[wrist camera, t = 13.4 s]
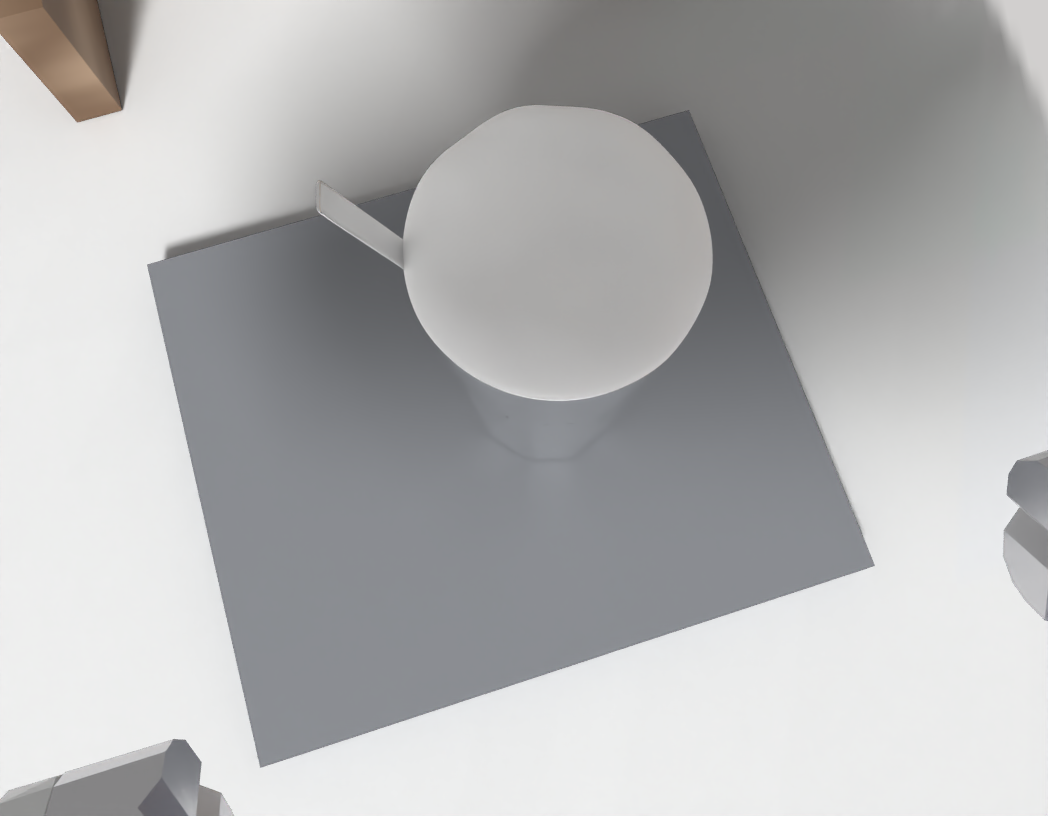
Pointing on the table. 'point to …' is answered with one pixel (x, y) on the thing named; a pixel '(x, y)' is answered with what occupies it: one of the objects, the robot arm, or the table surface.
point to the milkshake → (549, 268)
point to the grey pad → (471, 482)
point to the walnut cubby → (64, 52)
